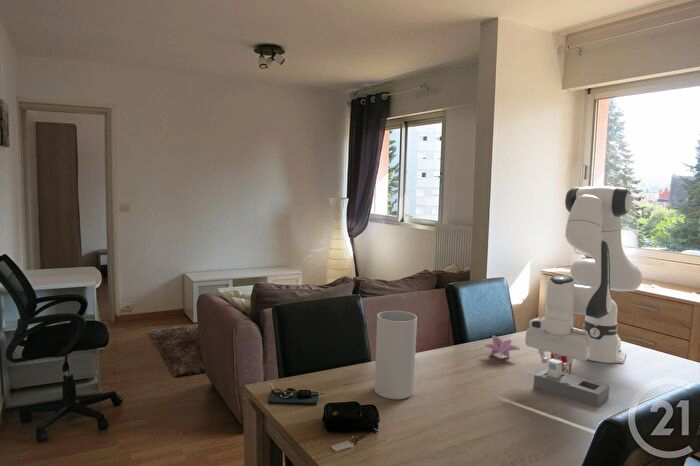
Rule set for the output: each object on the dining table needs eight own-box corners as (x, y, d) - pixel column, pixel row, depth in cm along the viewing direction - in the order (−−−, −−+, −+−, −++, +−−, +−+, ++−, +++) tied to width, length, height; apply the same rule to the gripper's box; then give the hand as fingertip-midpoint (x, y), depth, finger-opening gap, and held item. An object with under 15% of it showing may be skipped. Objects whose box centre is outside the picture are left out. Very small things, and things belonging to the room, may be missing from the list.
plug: (550, 384, 165) (552, 358, 164) (560, 387, 163) (562, 361, 162) (545, 387, 162) (547, 361, 162) (555, 390, 160) (557, 364, 159)
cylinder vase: (416, 387, 161) (420, 313, 158) (408, 403, 149) (412, 323, 146) (380, 381, 165) (383, 309, 162) (369, 396, 153) (372, 318, 150)
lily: (523, 365, 187) (522, 340, 191) (509, 360, 179) (507, 334, 183) (494, 366, 195) (494, 342, 199) (479, 361, 187) (479, 336, 191)
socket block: (546, 381, 170) (547, 367, 169) (608, 400, 156) (609, 385, 155) (533, 389, 163) (534, 374, 162) (597, 410, 149) (598, 394, 148)
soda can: (572, 378, 173) (575, 345, 172) (551, 376, 174) (554, 343, 173) (568, 371, 180) (570, 339, 179) (547, 369, 181) (550, 337, 180)
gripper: (594, 331, 156) (591, 372, 157) (532, 317, 170) (529, 355, 171) (587, 334, 151) (584, 377, 153) (524, 320, 165) (521, 359, 167)
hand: (554, 366), depth 162 cm, fingers open, 6 cm apart
